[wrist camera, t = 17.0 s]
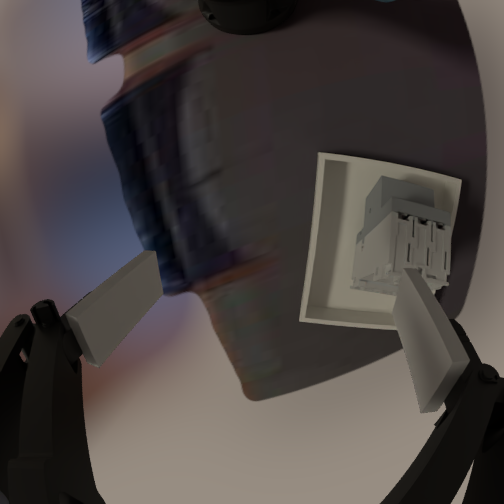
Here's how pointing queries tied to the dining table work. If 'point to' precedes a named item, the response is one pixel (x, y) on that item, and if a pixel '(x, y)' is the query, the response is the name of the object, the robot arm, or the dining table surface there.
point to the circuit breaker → (401, 238)
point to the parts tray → (354, 238)
